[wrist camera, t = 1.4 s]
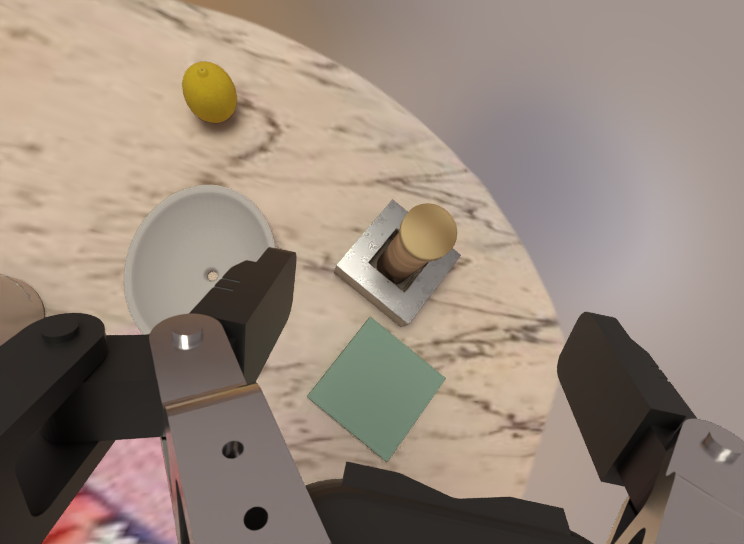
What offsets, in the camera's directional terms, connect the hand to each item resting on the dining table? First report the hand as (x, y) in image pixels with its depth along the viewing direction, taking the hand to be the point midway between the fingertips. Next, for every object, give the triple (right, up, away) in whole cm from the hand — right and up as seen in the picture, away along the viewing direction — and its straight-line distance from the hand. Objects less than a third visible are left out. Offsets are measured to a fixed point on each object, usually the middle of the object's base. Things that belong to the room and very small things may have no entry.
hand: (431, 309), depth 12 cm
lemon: (-20, +20, +39) cm, 48 cm away
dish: (-19, +1, +35) cm, 40 cm away
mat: (-1, -12, +35) cm, 37 cm away
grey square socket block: (+1, +2, +38) cm, 38 cm away
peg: (+1, +2, +38) cm, 38 cm away
